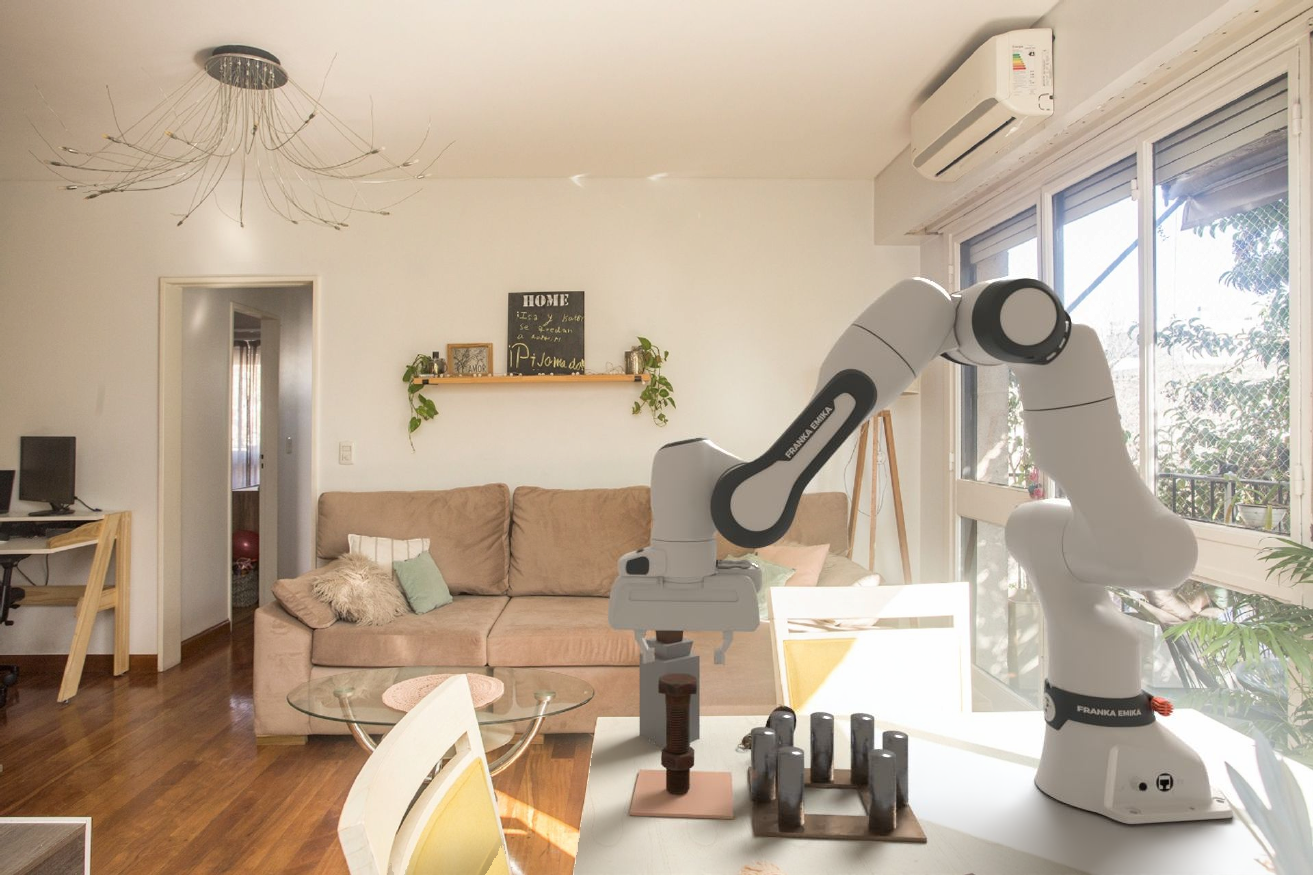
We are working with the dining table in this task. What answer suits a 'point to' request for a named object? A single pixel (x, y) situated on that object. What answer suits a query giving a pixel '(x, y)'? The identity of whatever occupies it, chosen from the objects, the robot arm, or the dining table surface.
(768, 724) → the compass
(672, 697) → the bolt
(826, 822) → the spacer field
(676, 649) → the perfume bottle
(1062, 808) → the dining table surface
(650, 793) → the pad
